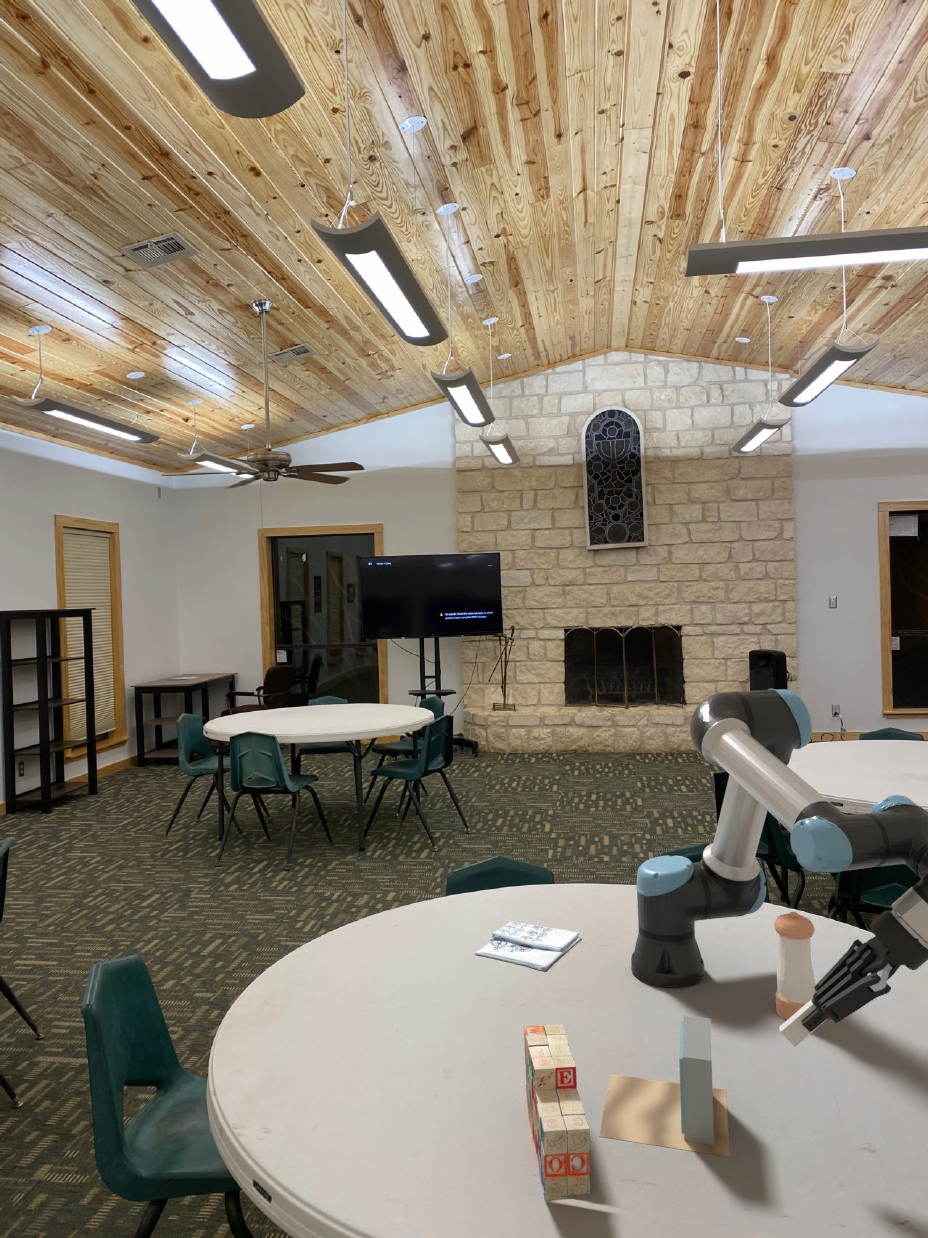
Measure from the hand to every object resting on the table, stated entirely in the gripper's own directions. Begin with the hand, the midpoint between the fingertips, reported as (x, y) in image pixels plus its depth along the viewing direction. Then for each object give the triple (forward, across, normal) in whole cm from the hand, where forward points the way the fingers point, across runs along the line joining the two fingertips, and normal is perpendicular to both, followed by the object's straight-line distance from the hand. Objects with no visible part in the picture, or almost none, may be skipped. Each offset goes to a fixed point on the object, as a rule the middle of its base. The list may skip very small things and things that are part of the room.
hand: (787, 1037), depth 114 cm
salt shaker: (+7, +38, -14) cm, 41 cm away
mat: (+23, +1, +2) cm, 23 cm away
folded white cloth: (+46, +57, +25) cm, 77 cm away
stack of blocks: (+34, -10, +13) cm, 37 cm away
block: (+19, +1, -1) cm, 19 cm away
